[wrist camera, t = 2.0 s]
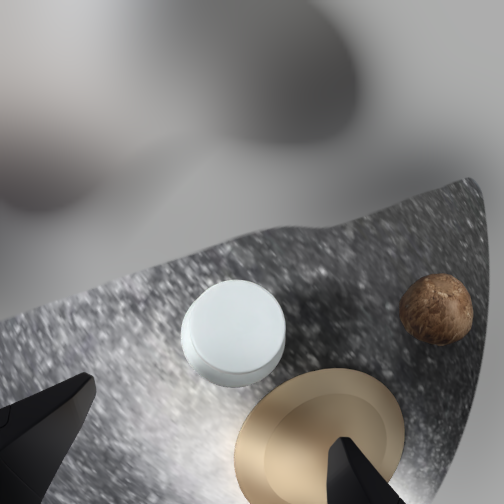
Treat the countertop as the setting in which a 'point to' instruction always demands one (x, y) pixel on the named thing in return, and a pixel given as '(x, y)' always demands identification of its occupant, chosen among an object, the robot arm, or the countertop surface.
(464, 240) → the countertop surface
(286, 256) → the countertop surface
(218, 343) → the supplement bottle
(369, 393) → the plate
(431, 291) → the mushroom
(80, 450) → the countertop surface
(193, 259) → the countertop surface
